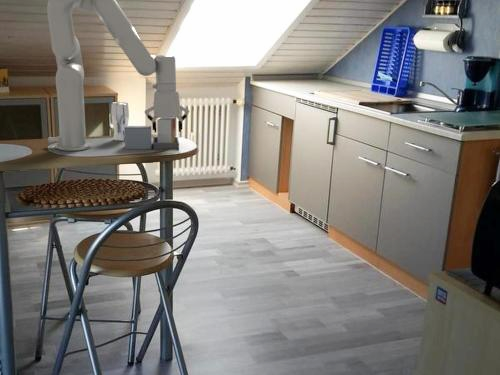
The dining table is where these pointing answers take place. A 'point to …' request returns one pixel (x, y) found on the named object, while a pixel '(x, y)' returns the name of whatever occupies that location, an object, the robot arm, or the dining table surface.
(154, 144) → the tray
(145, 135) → the grey rectangular block
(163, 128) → the small box
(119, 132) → the beer glass
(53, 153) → the dining table surface
